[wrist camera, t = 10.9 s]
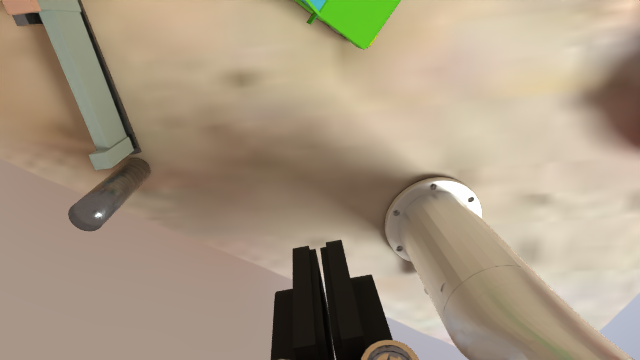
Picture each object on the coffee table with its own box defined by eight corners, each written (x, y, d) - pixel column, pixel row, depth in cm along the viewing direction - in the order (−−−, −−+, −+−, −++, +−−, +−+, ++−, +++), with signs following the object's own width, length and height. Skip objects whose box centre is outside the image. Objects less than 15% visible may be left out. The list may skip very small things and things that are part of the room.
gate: (135, 150, 38) (104, 174, 32) (117, 152, 38) (82, 178, 32) (75, -11, 32) (21, -20, 25) (54, -8, 32) (-6, -16, 25)
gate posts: (153, 178, 41) (108, 228, 30) (118, 184, 41) (61, 236, 30) (62, -51, 31) (-47, -88, 21) (16, -43, 31) (-115, -76, 21)
